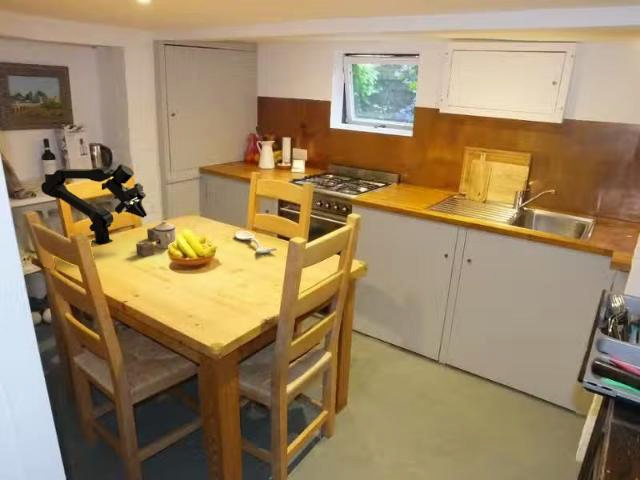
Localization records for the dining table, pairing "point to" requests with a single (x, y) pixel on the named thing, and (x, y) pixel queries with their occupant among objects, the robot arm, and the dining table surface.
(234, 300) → the dining table surface
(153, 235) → the walnut block three dots
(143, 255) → the walnut block two dots
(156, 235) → the teacup with lid
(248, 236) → the spoon
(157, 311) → the dining table surface
